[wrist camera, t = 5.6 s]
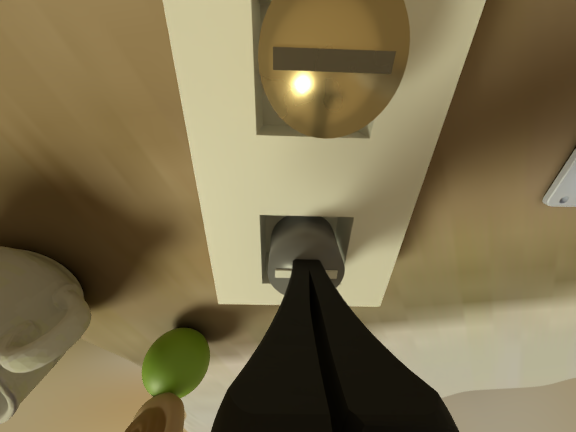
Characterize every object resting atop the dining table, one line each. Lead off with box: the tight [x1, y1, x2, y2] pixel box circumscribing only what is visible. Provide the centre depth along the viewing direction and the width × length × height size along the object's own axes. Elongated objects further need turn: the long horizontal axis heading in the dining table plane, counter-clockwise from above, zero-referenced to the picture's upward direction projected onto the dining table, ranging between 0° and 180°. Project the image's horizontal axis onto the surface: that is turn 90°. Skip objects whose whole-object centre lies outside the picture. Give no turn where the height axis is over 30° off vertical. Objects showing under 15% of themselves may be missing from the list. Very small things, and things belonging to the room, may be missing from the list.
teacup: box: [0, 246, 91, 424], centre depth 15 cm, size 14×11×8 cm
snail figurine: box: [125, 328, 210, 432], centre depth 17 cm, size 5×6×12 cm
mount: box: [163, 0, 486, 307], centre depth 10 cm, size 11×27×4 cm, turn 178°
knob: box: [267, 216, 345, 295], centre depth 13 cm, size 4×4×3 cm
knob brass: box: [258, 0, 410, 139], centre depth 7 cm, size 4×4×3 cm
